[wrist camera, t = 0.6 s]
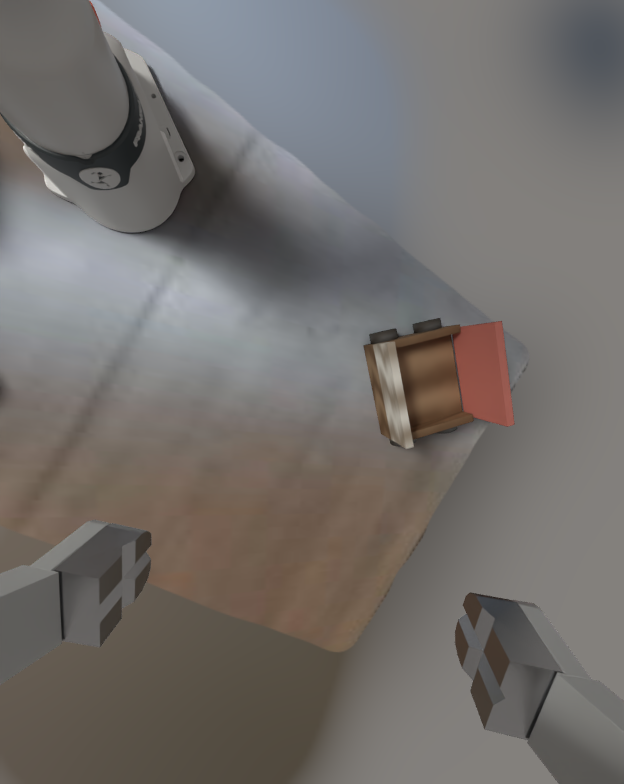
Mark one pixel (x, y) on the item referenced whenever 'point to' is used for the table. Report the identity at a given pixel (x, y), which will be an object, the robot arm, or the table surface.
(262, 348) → the table surface
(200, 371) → the table surface
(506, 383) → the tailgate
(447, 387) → the trailer
